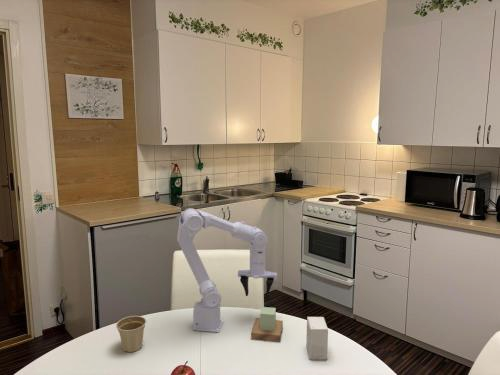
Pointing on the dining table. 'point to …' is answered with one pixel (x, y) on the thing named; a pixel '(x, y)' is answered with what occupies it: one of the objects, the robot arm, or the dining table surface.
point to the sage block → (267, 318)
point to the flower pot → (131, 332)
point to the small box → (317, 338)
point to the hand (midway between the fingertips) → (257, 295)
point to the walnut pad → (267, 332)
